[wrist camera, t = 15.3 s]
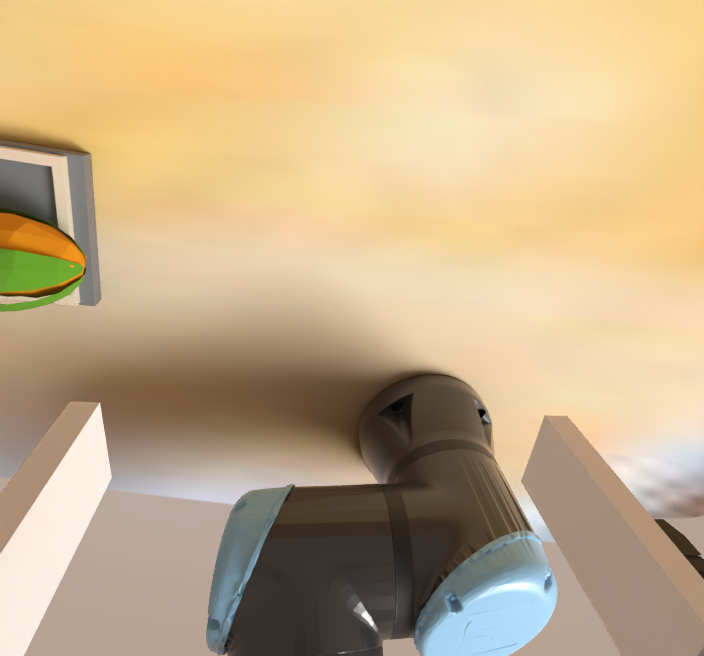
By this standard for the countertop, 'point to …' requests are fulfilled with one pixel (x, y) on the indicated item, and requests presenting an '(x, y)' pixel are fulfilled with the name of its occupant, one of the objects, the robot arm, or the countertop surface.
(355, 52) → the countertop surface
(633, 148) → the countertop surface
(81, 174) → the board
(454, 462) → the robot arm
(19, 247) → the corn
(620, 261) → the countertop surface
